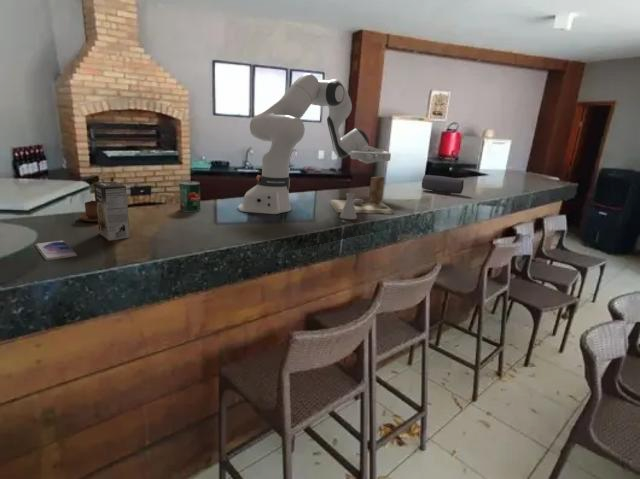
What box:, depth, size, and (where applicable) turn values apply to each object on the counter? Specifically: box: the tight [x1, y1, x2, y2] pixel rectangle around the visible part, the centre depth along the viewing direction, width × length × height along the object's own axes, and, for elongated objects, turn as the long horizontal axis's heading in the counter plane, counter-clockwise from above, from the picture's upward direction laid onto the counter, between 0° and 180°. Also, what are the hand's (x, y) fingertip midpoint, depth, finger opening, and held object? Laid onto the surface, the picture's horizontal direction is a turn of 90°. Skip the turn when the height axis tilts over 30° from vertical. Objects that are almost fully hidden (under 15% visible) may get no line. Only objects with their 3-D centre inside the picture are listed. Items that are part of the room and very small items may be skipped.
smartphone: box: [34, 240, 78, 261], centre depth 107 cm, size 7×1×15 cm
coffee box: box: [93, 181, 131, 242], centre depth 120 cm, size 9×6×16 cm
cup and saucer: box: [77, 200, 98, 223], centre depth 137 cm, size 12×12×6 cm
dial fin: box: [353, 176, 385, 205], centre depth 182 cm, size 16×4×12 cm, turn 122°
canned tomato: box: [178, 180, 201, 213], centre depth 159 cm, size 8×8×11 cm
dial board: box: [329, 199, 394, 215], centre depth 182 cm, size 25×20×2 cm
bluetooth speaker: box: [421, 174, 465, 195], centre depth 236 cm, size 23×9×10 cm, turn 58°
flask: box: [339, 192, 358, 220], centre depth 161 cm, size 7×7×10 cm
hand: (373, 157), depth 192 cm, fingers closed
